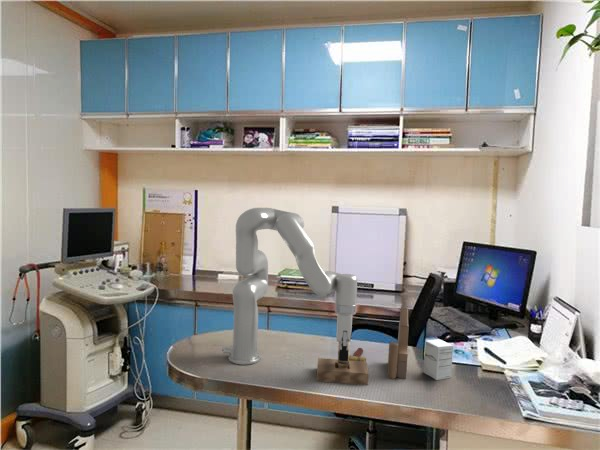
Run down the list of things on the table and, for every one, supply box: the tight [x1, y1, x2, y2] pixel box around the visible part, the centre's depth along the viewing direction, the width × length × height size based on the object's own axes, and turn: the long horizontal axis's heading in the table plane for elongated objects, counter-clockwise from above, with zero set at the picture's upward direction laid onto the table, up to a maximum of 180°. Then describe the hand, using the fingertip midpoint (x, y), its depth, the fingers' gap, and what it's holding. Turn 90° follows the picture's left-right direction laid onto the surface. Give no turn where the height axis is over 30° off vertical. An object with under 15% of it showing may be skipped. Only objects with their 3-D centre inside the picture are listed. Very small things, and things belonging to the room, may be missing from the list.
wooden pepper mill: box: [337, 339, 351, 369], centre depth 151 cm, size 4×4×12 cm
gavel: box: [349, 347, 367, 363], centre depth 170 cm, size 21×5×10 cm
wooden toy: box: [387, 306, 410, 379], centre depth 158 cm, size 16×7×25 cm, turn 169°
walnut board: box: [316, 357, 370, 386], centre depth 152 cm, size 18×11×4 cm, turn 86°
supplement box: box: [423, 338, 454, 381], centre depth 156 cm, size 7×7×13 cm
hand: (343, 357), depth 151 cm, fingers closed on wooden pepper mill, 4 cm apart
